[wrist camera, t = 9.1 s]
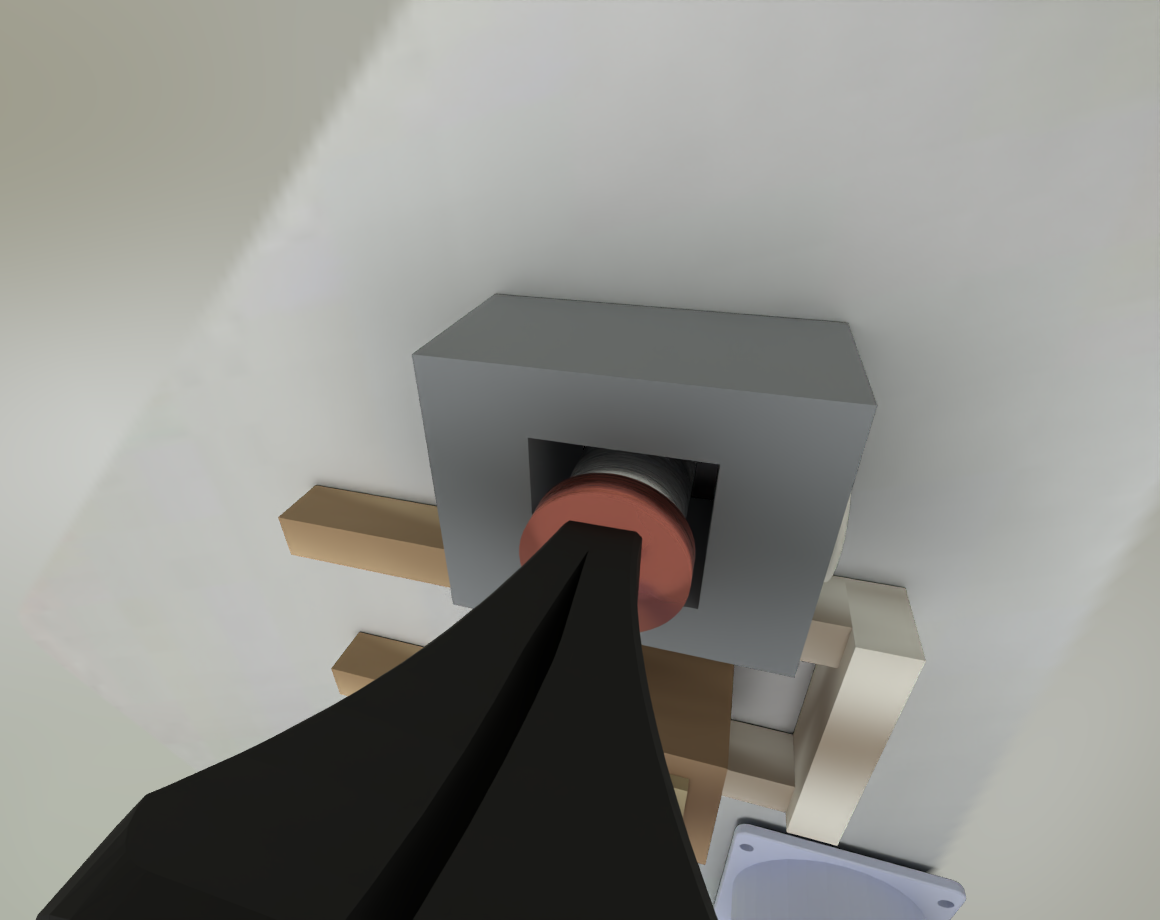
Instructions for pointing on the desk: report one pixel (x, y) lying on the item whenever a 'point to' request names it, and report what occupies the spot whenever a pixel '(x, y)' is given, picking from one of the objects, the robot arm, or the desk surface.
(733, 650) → the grey housing block
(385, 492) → the desk surface
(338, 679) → the channel
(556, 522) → the plunger
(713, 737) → the block
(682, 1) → the desk surface
